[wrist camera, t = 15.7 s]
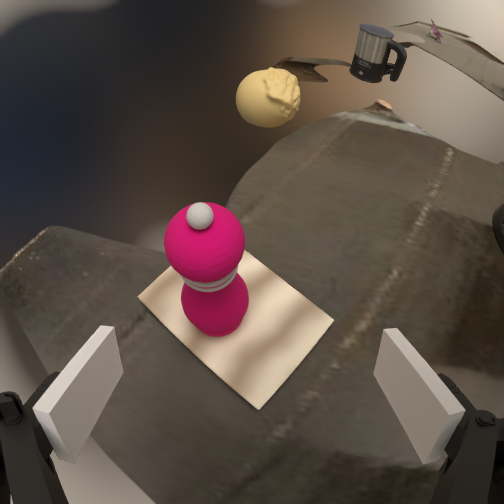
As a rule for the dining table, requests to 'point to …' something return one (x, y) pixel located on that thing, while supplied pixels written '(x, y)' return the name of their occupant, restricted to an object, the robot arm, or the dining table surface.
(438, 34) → the lily
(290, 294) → the serving board
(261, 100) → the sculpture
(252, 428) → the dining table surface
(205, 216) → the pepper mill
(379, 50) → the milk frother
